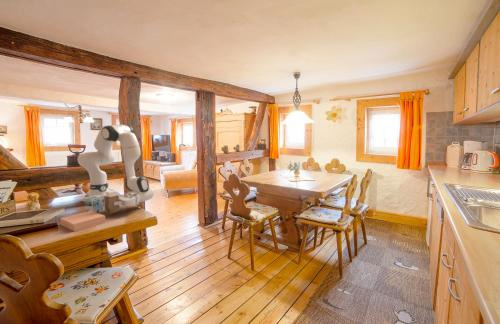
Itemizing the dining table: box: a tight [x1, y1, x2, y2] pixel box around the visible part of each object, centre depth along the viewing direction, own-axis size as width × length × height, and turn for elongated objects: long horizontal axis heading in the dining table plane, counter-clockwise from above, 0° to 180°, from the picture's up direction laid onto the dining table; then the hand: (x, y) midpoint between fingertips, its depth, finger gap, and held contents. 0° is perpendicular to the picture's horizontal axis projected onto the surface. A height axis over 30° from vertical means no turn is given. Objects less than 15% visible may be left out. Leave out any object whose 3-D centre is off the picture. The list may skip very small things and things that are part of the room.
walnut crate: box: [104, 194, 121, 214], centre depth 153 cm, size 6×6×10 cm
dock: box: [59, 211, 106, 232], centre depth 140 cm, size 18×16×4 cm
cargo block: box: [106, 189, 118, 197], centre depth 153 cm, size 4×4×3 cm
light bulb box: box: [83, 195, 105, 214], centre depth 160 cm, size 11×7×11 cm, turn 168°
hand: (110, 203), depth 153 cm, fingers closed on walnut crate, 6 cm apart
